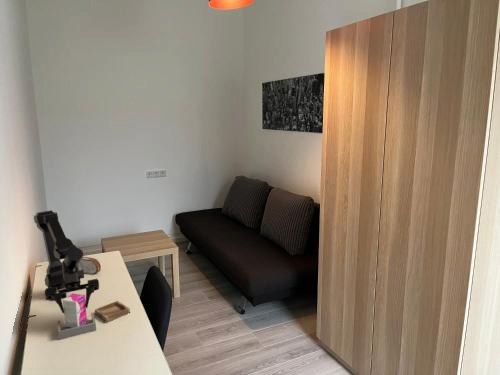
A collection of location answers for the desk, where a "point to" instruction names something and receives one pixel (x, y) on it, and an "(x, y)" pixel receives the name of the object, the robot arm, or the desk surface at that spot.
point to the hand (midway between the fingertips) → (75, 310)
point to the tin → (89, 265)
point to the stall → (76, 329)
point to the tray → (112, 311)
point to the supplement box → (74, 310)
